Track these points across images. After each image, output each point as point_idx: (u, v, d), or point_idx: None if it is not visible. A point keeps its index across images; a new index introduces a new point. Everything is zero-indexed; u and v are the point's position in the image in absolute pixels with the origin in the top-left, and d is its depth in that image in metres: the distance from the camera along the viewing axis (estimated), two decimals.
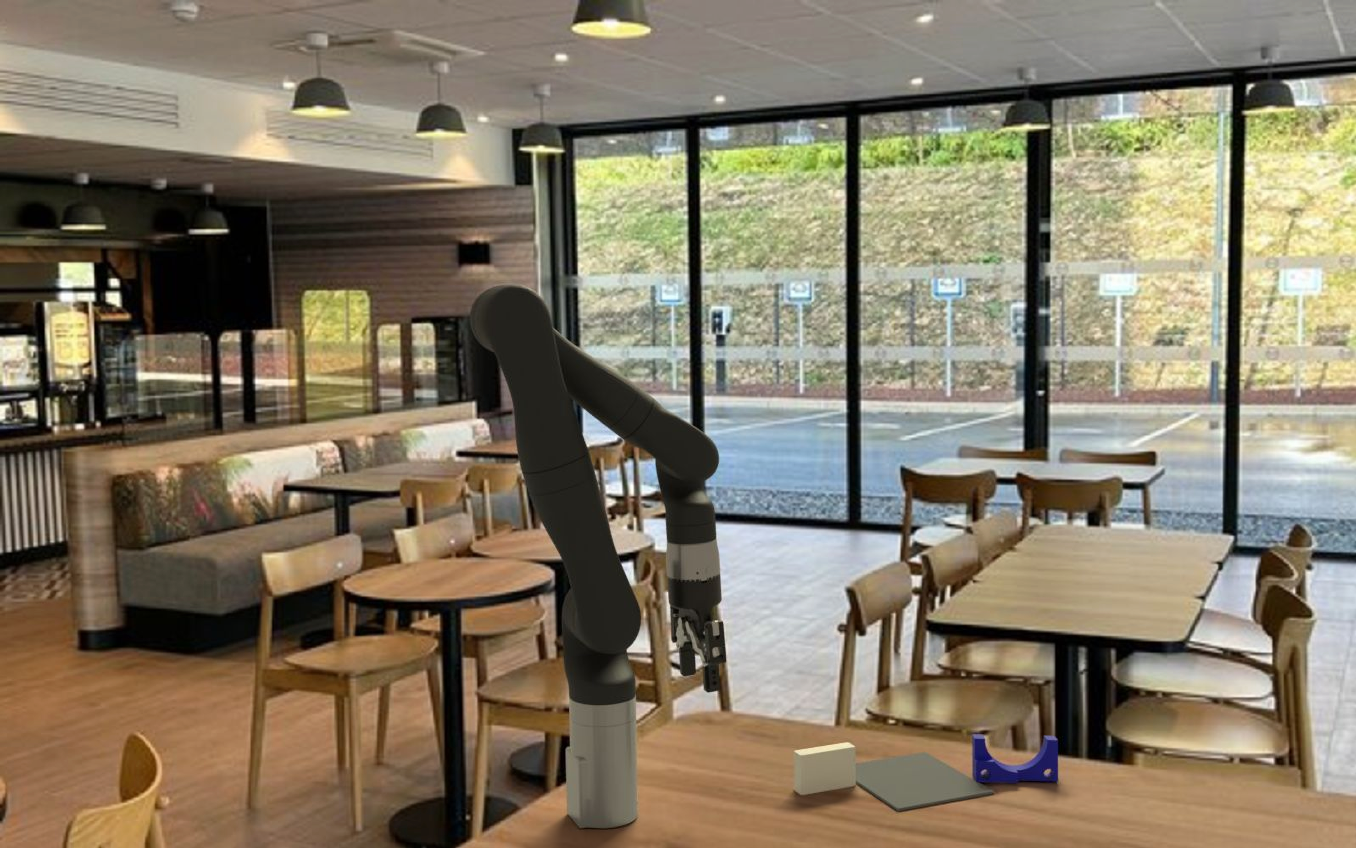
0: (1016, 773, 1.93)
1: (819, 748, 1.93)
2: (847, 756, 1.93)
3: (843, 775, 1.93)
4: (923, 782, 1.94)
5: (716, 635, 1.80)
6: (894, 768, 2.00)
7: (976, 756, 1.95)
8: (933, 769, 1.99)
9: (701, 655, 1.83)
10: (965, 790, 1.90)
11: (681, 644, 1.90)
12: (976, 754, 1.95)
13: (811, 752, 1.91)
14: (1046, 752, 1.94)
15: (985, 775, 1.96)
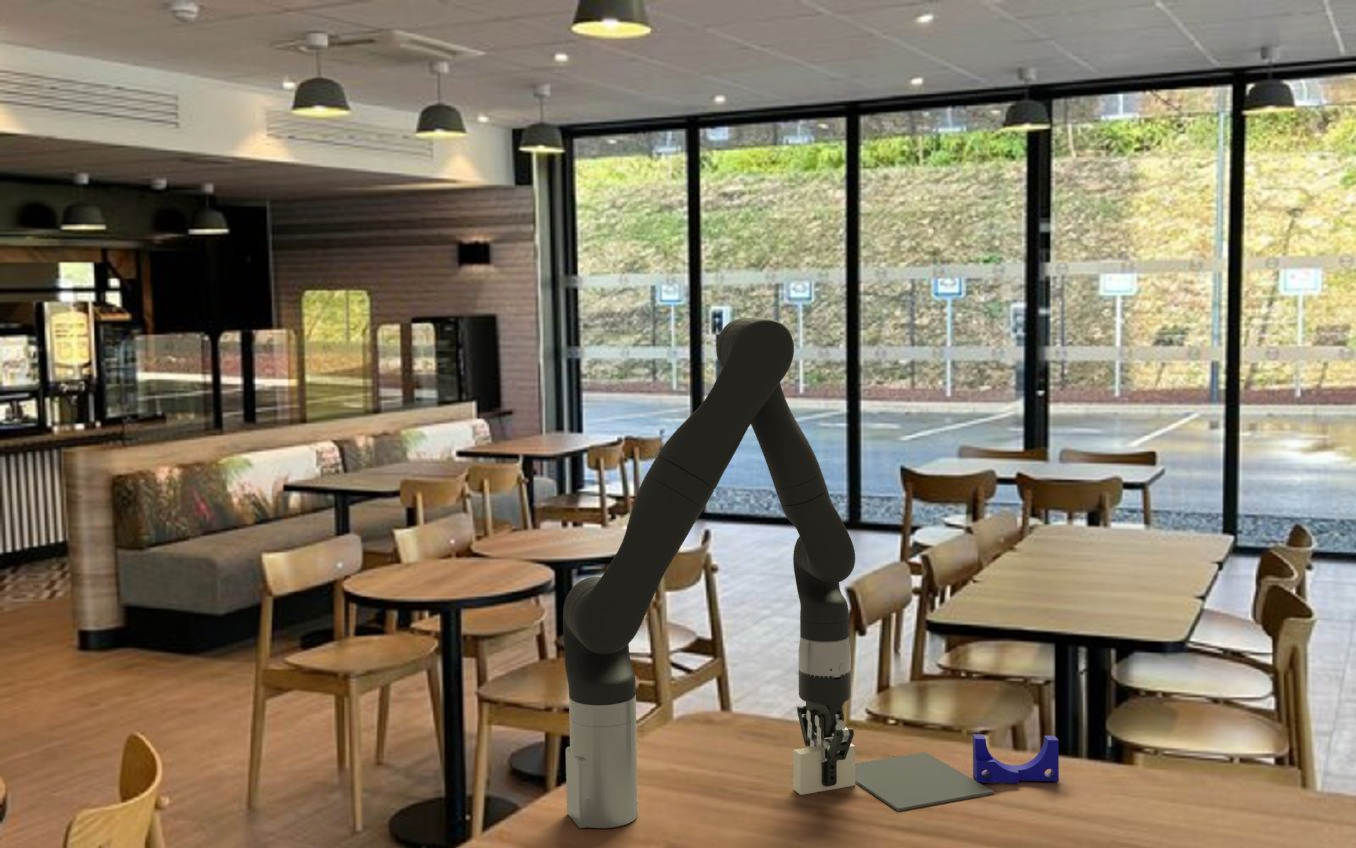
0: (1017, 773, 1.93)
1: (819, 747, 1.93)
2: (847, 755, 1.93)
3: (843, 774, 1.93)
4: (923, 782, 1.94)
5: (844, 742, 1.87)
6: (894, 768, 2.00)
7: (977, 756, 1.95)
8: (933, 769, 1.99)
9: (822, 750, 1.91)
10: (965, 790, 1.90)
11: (814, 745, 1.93)
12: (977, 754, 1.95)
13: (811, 751, 1.91)
14: (1047, 752, 1.94)
15: (986, 775, 1.96)
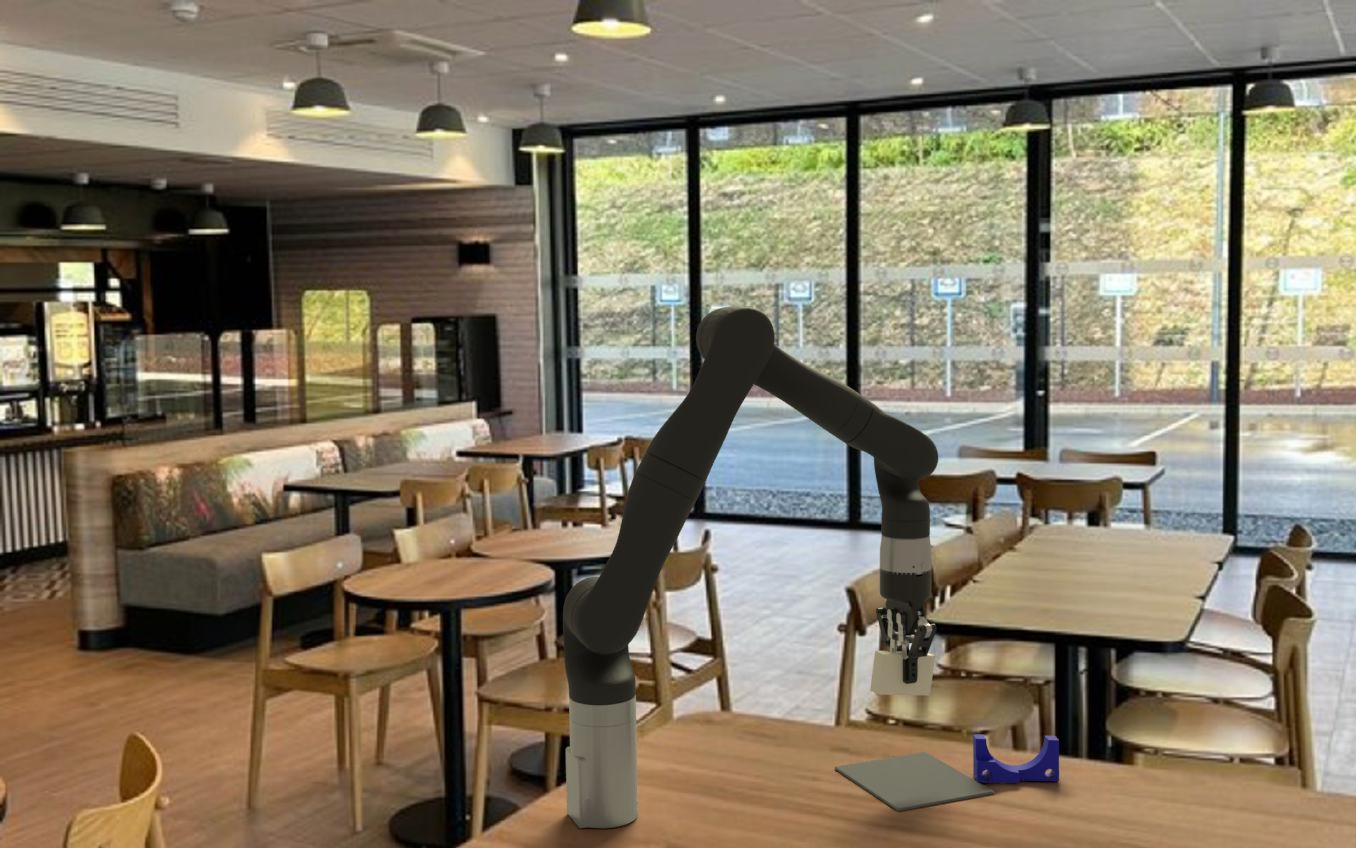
0: (1017, 773, 1.93)
1: (900, 652, 1.95)
2: (926, 663, 1.96)
3: (920, 682, 1.95)
4: (923, 782, 1.94)
5: (926, 637, 1.90)
6: (894, 768, 2.00)
7: (977, 756, 1.95)
8: (933, 769, 1.99)
9: (904, 648, 1.93)
10: (965, 790, 1.90)
11: (895, 644, 1.96)
12: (977, 754, 1.95)
13: (892, 653, 1.94)
14: (1047, 752, 1.94)
15: (986, 775, 1.96)
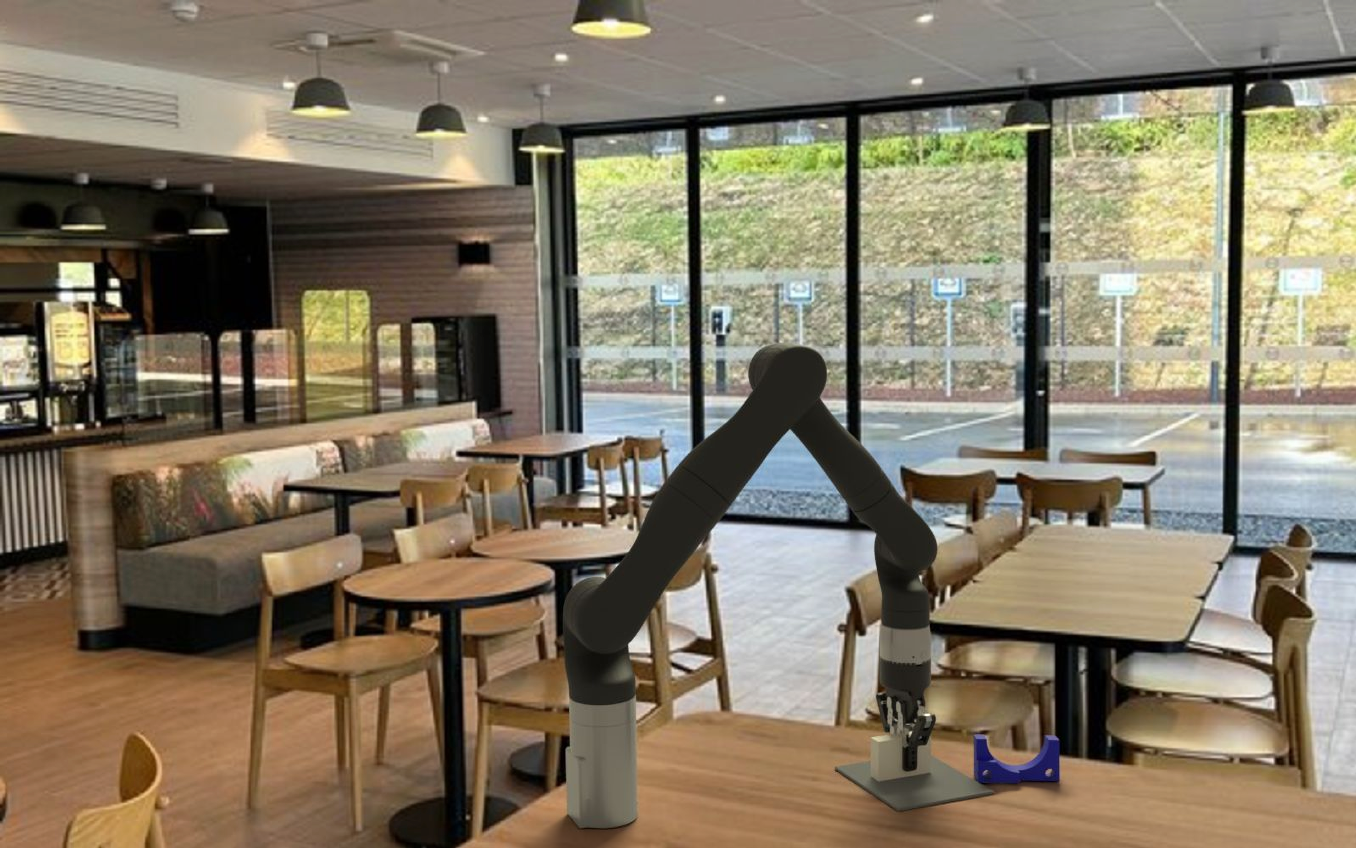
0: (1018, 773, 1.93)
1: (895, 735, 1.96)
2: None
3: (919, 761, 1.97)
4: (923, 782, 1.94)
5: (926, 727, 1.91)
6: None
7: (978, 756, 1.95)
8: (933, 769, 1.99)
9: (904, 736, 1.94)
10: (965, 790, 1.90)
11: (895, 731, 1.97)
12: (978, 754, 1.95)
13: (888, 739, 1.95)
14: (1048, 752, 1.94)
15: (987, 775, 1.96)
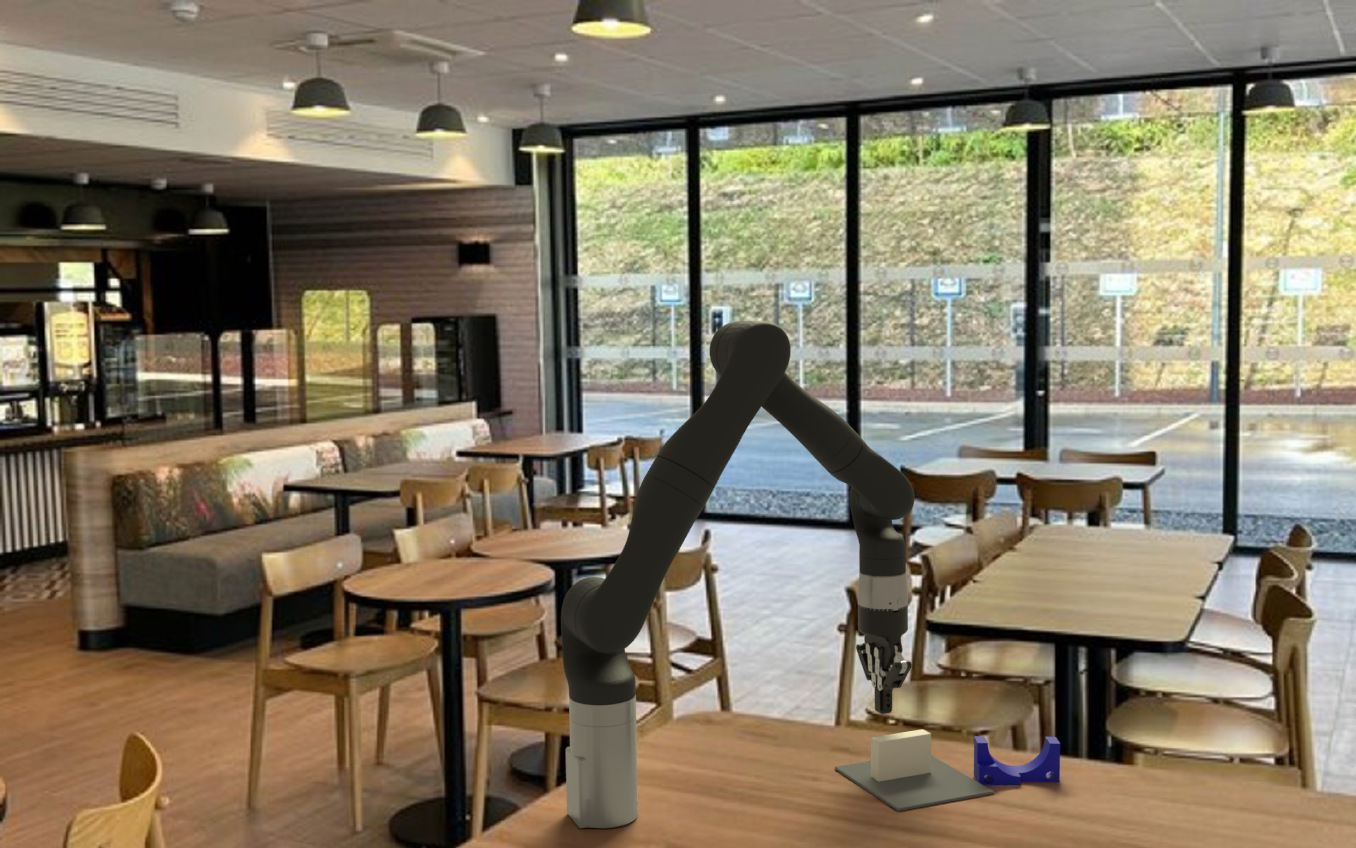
0: (1019, 777, 1.93)
1: (895, 735, 1.96)
2: (923, 743, 1.97)
3: (919, 761, 1.97)
4: (923, 782, 1.94)
5: (901, 673, 1.97)
6: None
7: (979, 760, 1.95)
8: (933, 769, 1.99)
9: (879, 680, 2.01)
10: (965, 790, 1.90)
11: (876, 677, 2.02)
12: (979, 758, 1.95)
13: (888, 739, 1.95)
14: (1049, 755, 1.94)
15: (987, 777, 1.96)
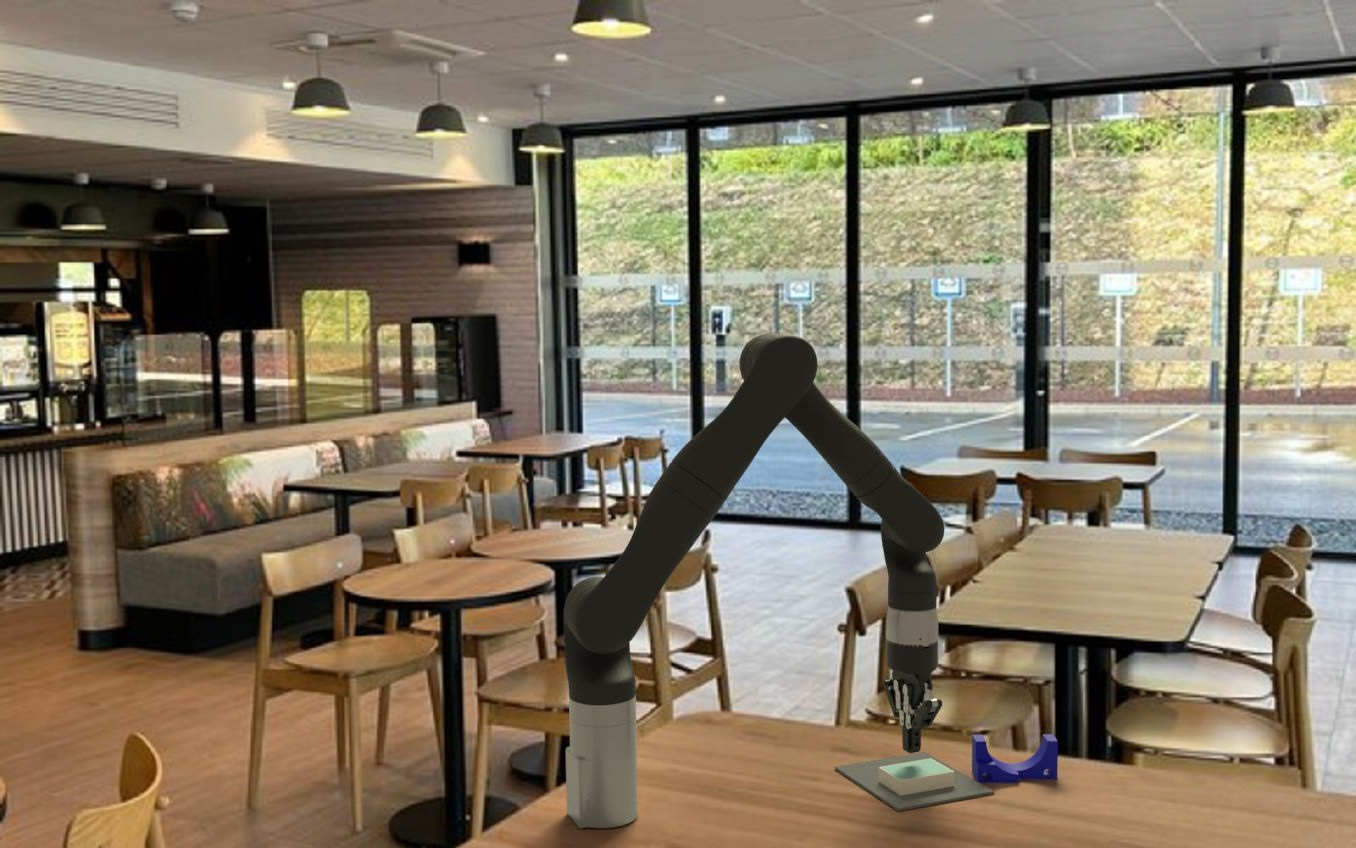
0: (1017, 775, 1.94)
1: (923, 781, 1.90)
2: None
3: None
4: None
5: (931, 711, 1.90)
6: None
7: (977, 758, 1.95)
8: None
9: (908, 718, 1.93)
10: (965, 790, 1.90)
11: (904, 715, 1.94)
12: (977, 756, 1.95)
13: (912, 790, 1.89)
14: (1046, 753, 1.95)
15: (985, 775, 1.97)
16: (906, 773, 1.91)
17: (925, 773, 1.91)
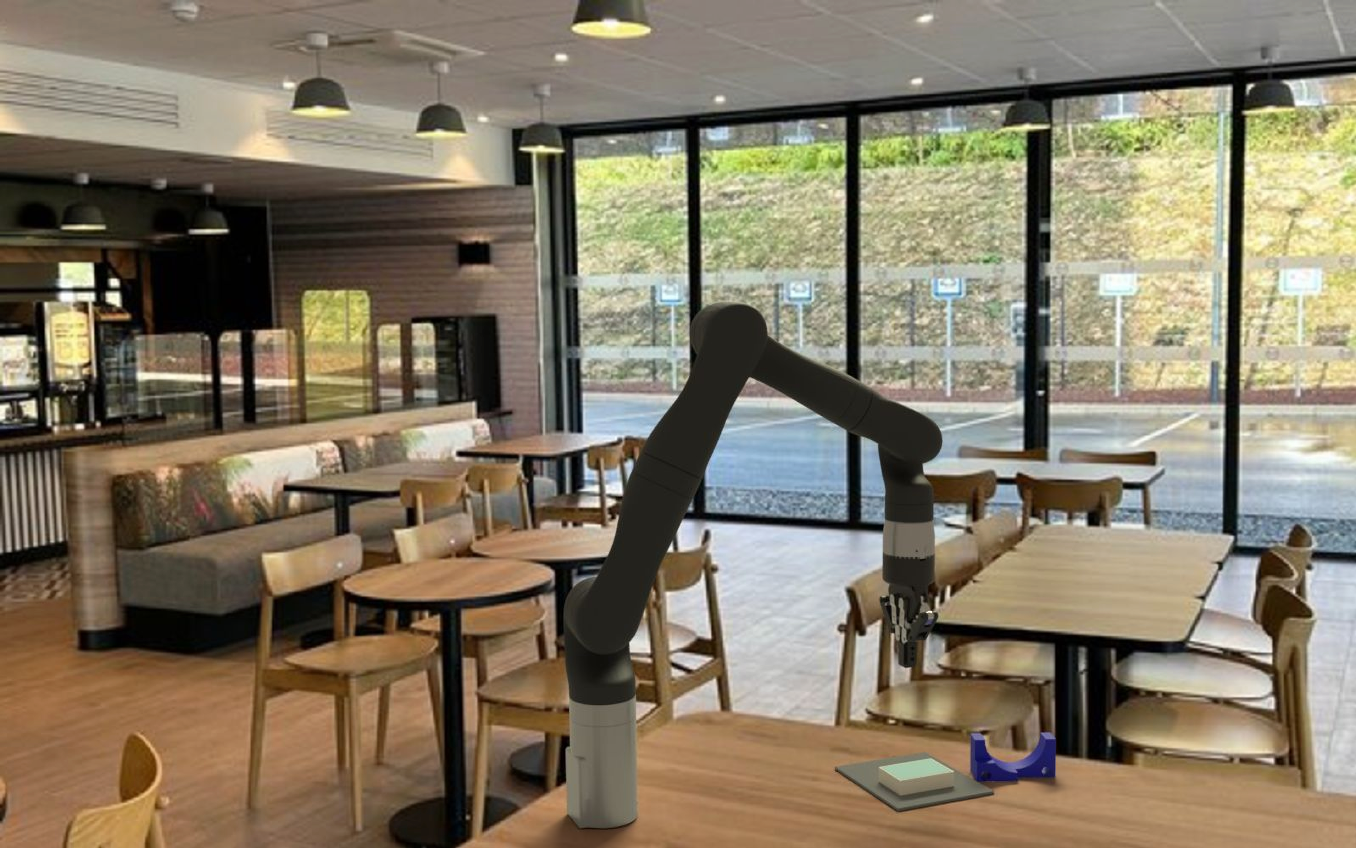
0: (1016, 773, 1.95)
1: (923, 781, 1.90)
2: None
3: None
4: None
5: (927, 624, 1.89)
6: None
7: (976, 757, 1.96)
8: None
9: (904, 632, 1.92)
10: (965, 790, 1.90)
11: (900, 629, 1.93)
12: (976, 755, 1.96)
13: (912, 790, 1.89)
14: (1044, 751, 1.96)
15: (984, 774, 1.97)
16: (906, 773, 1.91)
17: (925, 773, 1.91)
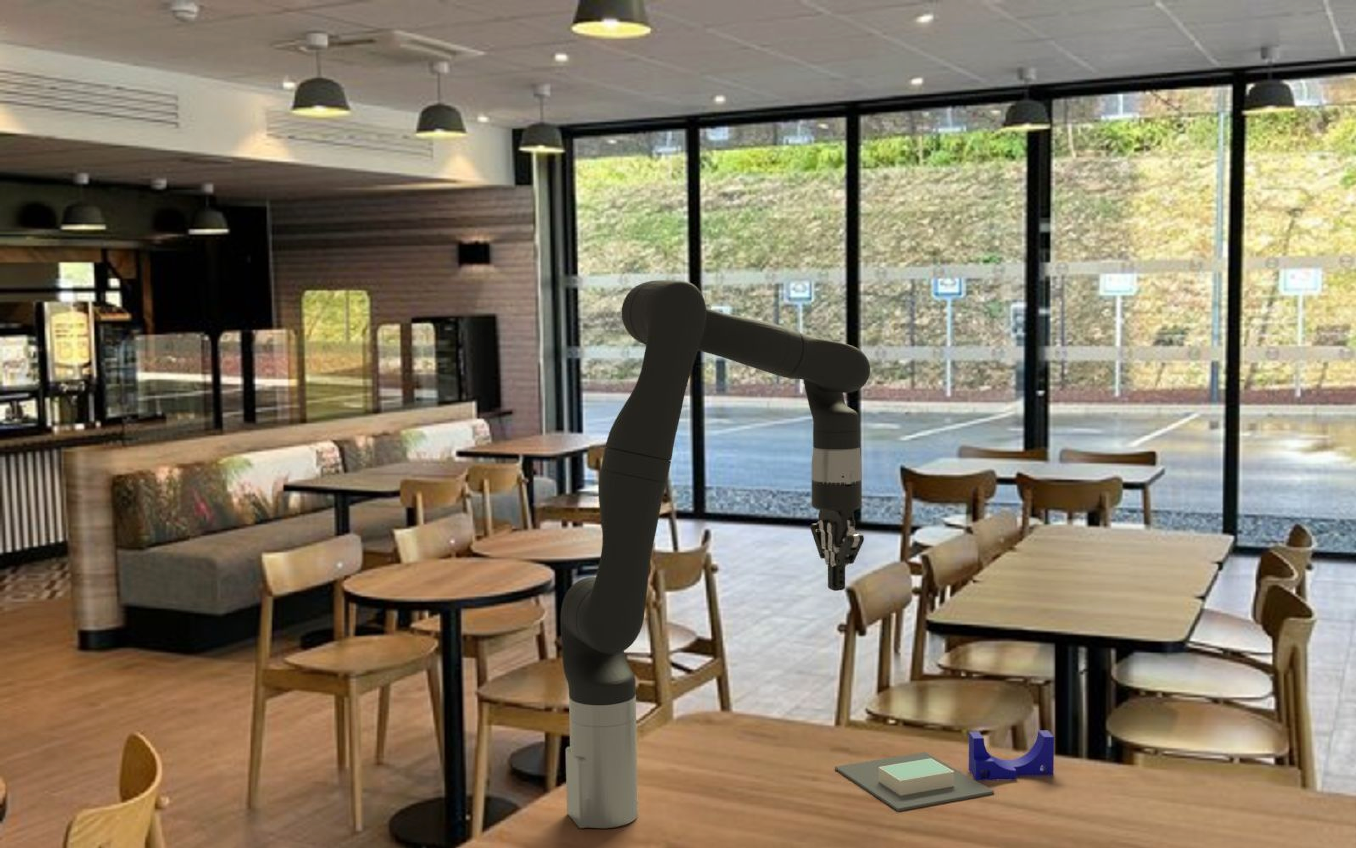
0: (1014, 771, 1.95)
1: (923, 781, 1.90)
2: None
3: None
4: None
5: (853, 547, 1.96)
6: None
7: (975, 755, 1.97)
8: None
9: (832, 556, 2.00)
10: (965, 790, 1.90)
11: (829, 554, 2.01)
12: (975, 753, 1.97)
13: (912, 790, 1.89)
14: (1043, 749, 1.97)
15: (982, 772, 1.98)
16: (906, 773, 1.91)
17: (925, 773, 1.91)
